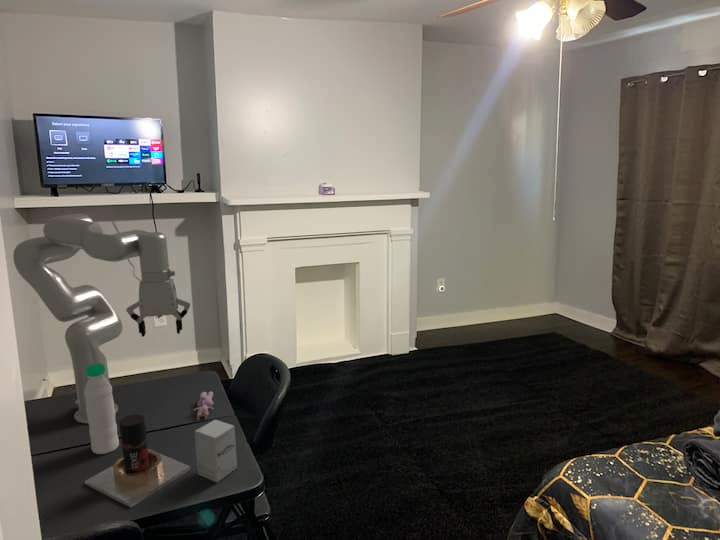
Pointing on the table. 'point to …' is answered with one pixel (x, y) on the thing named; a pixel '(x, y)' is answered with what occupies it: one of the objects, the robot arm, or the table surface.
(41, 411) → the table surface
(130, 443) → the deodorant
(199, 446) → the supplement box
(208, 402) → the pink plush toy
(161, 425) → the table surface
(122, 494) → the base
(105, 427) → the water bottle
